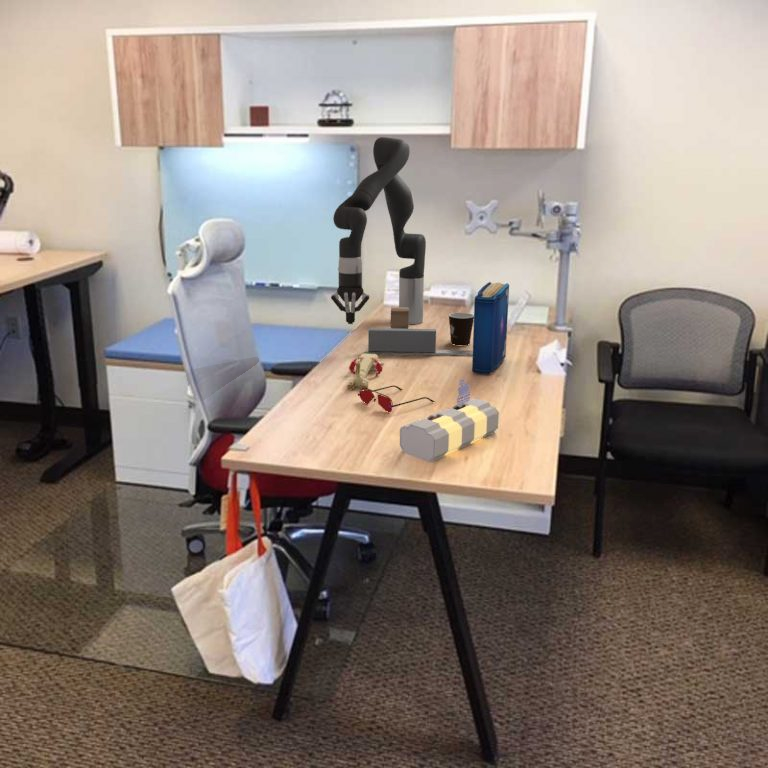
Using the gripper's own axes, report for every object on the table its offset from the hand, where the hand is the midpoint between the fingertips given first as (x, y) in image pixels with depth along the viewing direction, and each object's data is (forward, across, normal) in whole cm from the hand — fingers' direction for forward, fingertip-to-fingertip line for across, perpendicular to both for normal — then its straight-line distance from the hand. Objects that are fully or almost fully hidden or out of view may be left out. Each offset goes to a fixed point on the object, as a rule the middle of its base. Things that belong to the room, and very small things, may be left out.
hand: (350, 323), depth 267 cm
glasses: (+11, -16, +49) cm, 53 cm away
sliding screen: (+10, -17, 0) cm, 20 cm away
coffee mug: (+10, -37, -15) cm, 41 cm away
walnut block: (+10, -16, -13) cm, 23 cm away
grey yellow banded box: (+11, -29, +78) cm, 84 cm away
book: (+10, -44, +14) cm, 47 cm away
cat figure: (+11, -6, +27) cm, 30 cm away
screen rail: (+10, -25, 0) cm, 27 cm away
